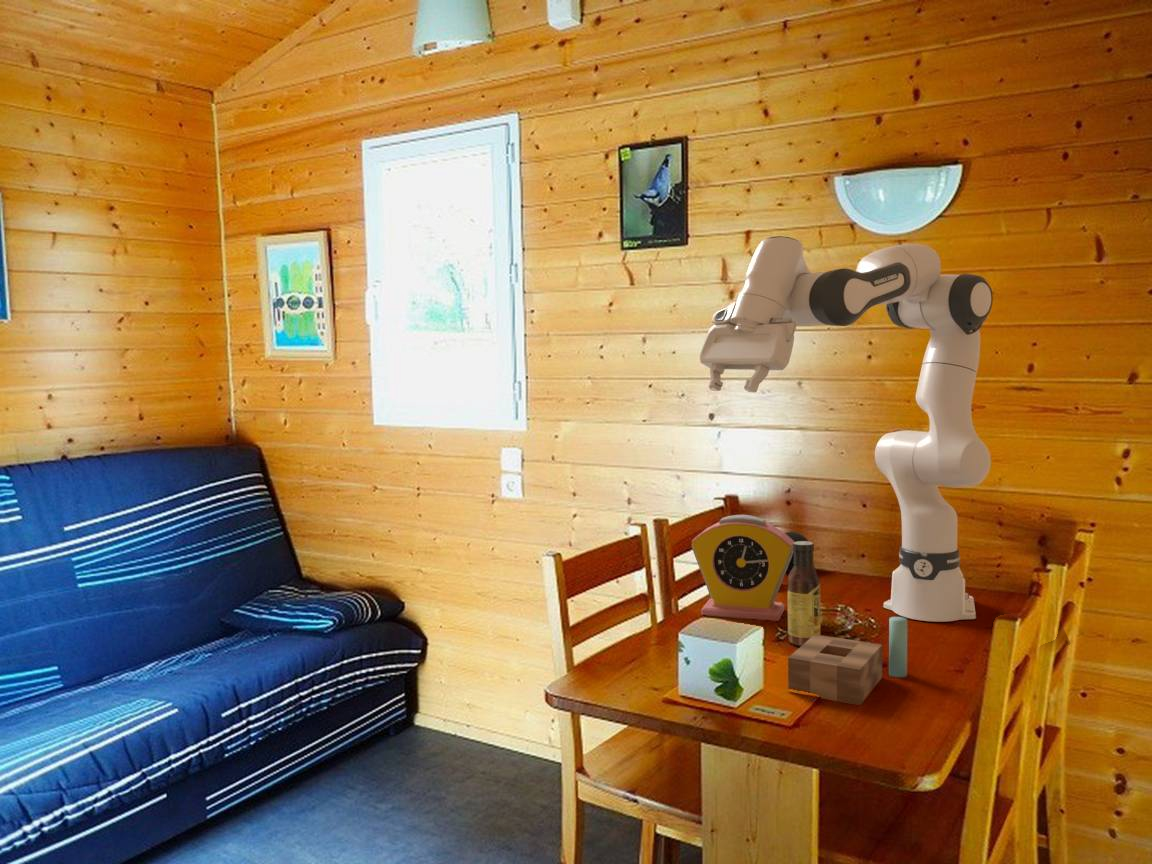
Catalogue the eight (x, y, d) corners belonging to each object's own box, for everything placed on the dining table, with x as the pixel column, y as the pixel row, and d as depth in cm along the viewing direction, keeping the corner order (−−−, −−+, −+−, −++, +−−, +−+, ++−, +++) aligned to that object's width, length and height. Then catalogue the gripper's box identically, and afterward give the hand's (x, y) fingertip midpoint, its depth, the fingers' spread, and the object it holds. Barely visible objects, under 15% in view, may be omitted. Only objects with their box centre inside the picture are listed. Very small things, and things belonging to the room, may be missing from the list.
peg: (891, 670, 165) (891, 615, 164) (908, 673, 164) (909, 618, 163) (887, 675, 163) (887, 620, 162) (904, 678, 161) (905, 622, 160)
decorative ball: (820, 571, 235) (820, 533, 234) (789, 577, 230) (789, 538, 229) (793, 564, 244) (793, 526, 243) (763, 569, 239) (763, 531, 238)
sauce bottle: (821, 648, 178) (821, 547, 176) (788, 647, 179) (787, 546, 177) (819, 637, 184) (819, 539, 182) (787, 636, 185) (786, 539, 183)
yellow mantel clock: (688, 615, 202) (687, 517, 199) (698, 603, 210) (697, 510, 208) (791, 623, 194) (791, 522, 192) (797, 611, 202) (797, 514, 200)
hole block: (814, 666, 168) (814, 634, 167) (881, 677, 162) (882, 644, 161) (788, 692, 156) (788, 657, 156) (859, 705, 150) (859, 669, 149)
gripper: (810, 325, 159) (785, 399, 157) (730, 328, 176) (707, 395, 174) (786, 309, 156) (760, 384, 154) (707, 314, 173) (683, 382, 171)
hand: (731, 390), depth 164 cm, fingers open, 8 cm apart
